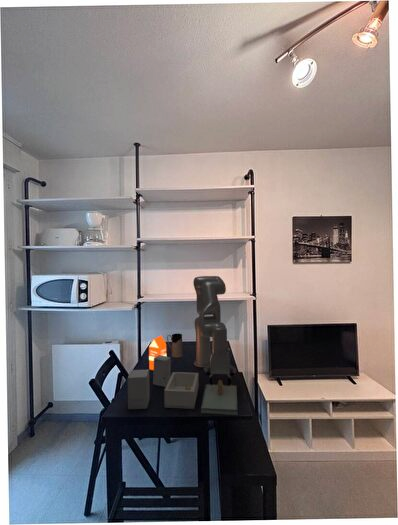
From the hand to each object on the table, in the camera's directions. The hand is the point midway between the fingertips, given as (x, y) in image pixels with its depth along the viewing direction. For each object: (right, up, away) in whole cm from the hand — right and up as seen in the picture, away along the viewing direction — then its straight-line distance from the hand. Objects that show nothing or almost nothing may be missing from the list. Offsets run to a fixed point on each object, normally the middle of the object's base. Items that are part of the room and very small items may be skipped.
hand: (220, 384), depth 129 cm
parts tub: (-19, -6, -1) cm, 20 cm away
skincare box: (-32, -6, +13) cm, 35 cm away
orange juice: (-38, -6, +35) cm, 52 cm away
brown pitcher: (-29, -6, +58) cm, 65 cm away
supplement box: (-40, -6, -7) cm, 41 cm away
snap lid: (0, -5, -5) cm, 7 cm away
